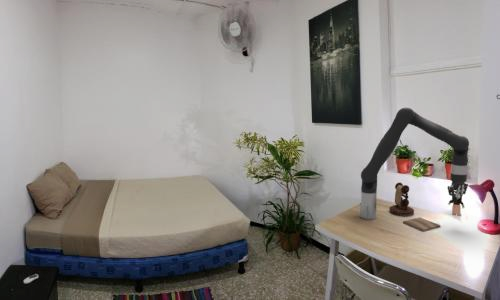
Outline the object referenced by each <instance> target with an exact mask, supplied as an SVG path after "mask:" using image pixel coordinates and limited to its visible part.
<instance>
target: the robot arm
mask: <svg viewBox="0 0 500 300" xmlns="http://www.w3.org/2000/svg"><path fill="white" fill-rule="evenodd" d="M408 125H411V126H414V127H417V128H418V129H420V130H422V131H424V132H425V133H426V134H428V135H430V136H432V137H433V138H435V139H437V140H439V141H440V142H441V141H442V142H444V143H445V144H447V146H450V147H451V148H453V149H452V150H453V152H452V157H451V158H452V159H451V166H450V177H449V178H450V181H451V185H448V186H447V192H448V195H449V196H451V200H452V203H451V204H453V203H457V194H458V193H459V194H460V198H459V199H458V200H461V201H462V200H463V196H464V195H465V194H466V193H467V190H468V187H469V184H468V183H466V182H467V180H468V170H469V169H468V160H469V159H468V156H469V155H468V151H469V146H470V141H469V139H468V138H467V137H466V136H463V135H458V134H456V133H455V132H453V131H452V130H450V129H448V128H446V127H444V126H442V125H440V124H438V123H436V122H433V121H431V120H429V119H426V118H425V117H423V116H422V115H420V114H419V113H418V112H416V111H414V109H412V108H410V107H402V108H400V109H399V110H398V111H397V112H396V115H395V117H394V119H393V121H392V124H391V125H390V127H389V128H388V130H387V131H386V132H385V134H384V135H383V137H382V138H381V139H380V140H379V143H378V145H377V146H376V148H375V150H374V151H373V155H372V157H371V159H370V160H369V162H368V163H367V165H366V167H364V168H363V169H362V170H361V172H360V178H361V187H360V189H361V190H360V194H361V195H360V202H359V217H361V218H362V219H364V220H375V219H376V218H377V197H378V196H377V192H378V191H377V189H378V174H379V172H380V170H381V168H382V167H383V165H384V164H385V163H386V162H387V160H388V159H389V158H390V157H391V155H392V154H393V152H394V150H395V149H396V147H397V146H398V144H399V140H400V139H401V136H402V134H403V132H404V131H405V129H406V128H407V127H408ZM462 202H463V201H462Z"/></svg>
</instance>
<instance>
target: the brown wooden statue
mask: <svg viewBox="0 0 500 300" xmlns="http://www.w3.org/2000/svg"><path fill="white" fill-rule="evenodd" d="M394 189H395V192H394V193H395V194H394V203H395V204H394V205H391V206H389V207H388V209H389V211H390V212H391V213H393V214H397V215H398V217H400V216H401V215H403V216H405V215H406V216H407V215H409V216H410V215H414V213H415V209H414V208H413V207H411V206H409V204H410V201H409V194H408V193H409V191H410V187H409V185H407V184H405V185H404V184H403V183H402V182H397V183H396V184H395V185H394Z"/></svg>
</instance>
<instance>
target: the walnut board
mask: <svg viewBox="0 0 500 300" xmlns="http://www.w3.org/2000/svg"><path fill="white" fill-rule="evenodd" d="M402 224H404V225H406V226H409V227H410V228H413V229H416V230H418V231H420V232H422V233H423V232H428V231H432V230H436V229H439V228H441V224H438V223H435V222H433V221H430V220H428V219H425V218H423V217H420V216H419V217H416V218H411V219H407V220H402Z"/></svg>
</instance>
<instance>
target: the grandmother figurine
mask: <svg viewBox="0 0 500 300" xmlns="http://www.w3.org/2000/svg"><path fill="white" fill-rule="evenodd" d="M459 198H460V194H459V193H458V194H457V203H452V199H450V200H449V202H448V203H447V205H448V206H450V205H451V204H452V206H451V209H452V210H451V212H452V213H451V215H452V216H457V217H462V214H461V211H462V210H461V207H462V208H463V209H464V208H465V204H464V202H463V201H461V200H458V199H459Z"/></svg>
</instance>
